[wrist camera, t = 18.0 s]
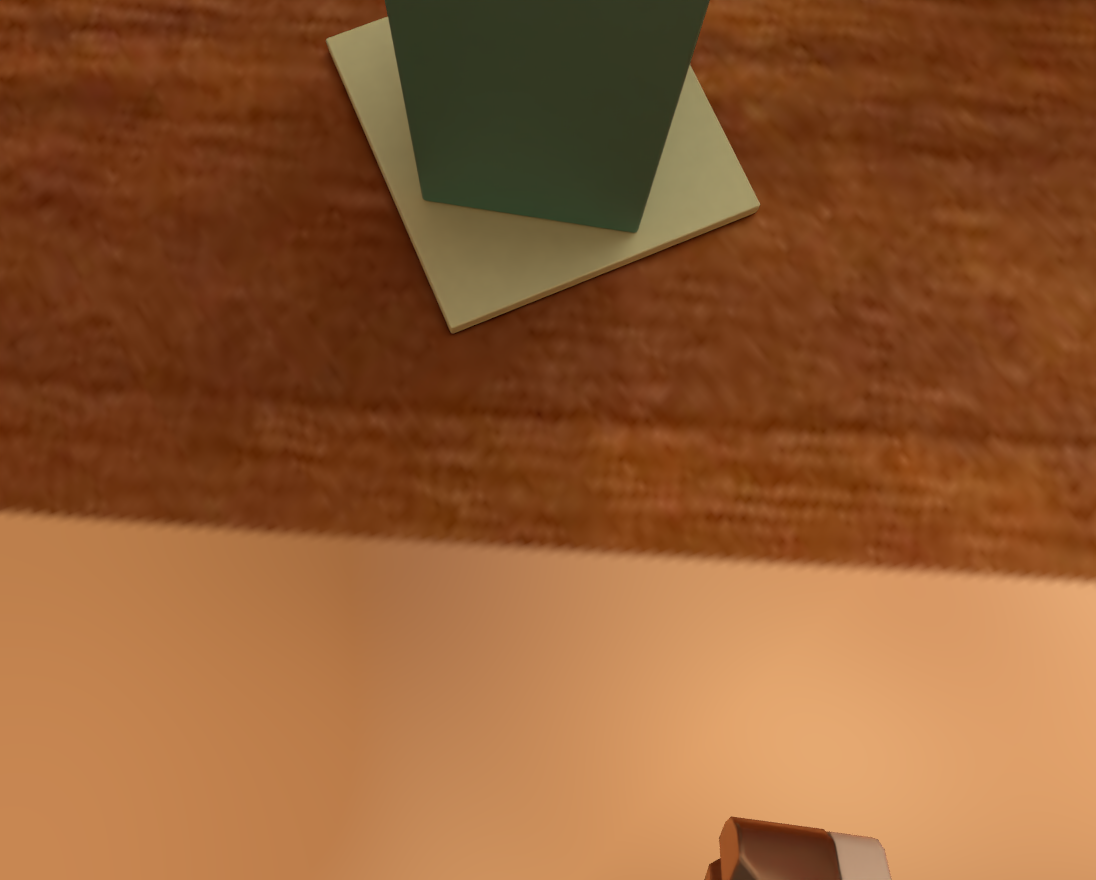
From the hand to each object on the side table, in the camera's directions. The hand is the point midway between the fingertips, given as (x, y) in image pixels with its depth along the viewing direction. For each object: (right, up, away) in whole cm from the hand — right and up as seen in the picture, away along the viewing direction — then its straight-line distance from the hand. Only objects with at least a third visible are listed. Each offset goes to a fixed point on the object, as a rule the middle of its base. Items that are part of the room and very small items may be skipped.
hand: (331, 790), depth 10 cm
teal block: (+2, +10, +11) cm, 15 cm away
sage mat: (+2, +10, +11) cm, 15 cm away
